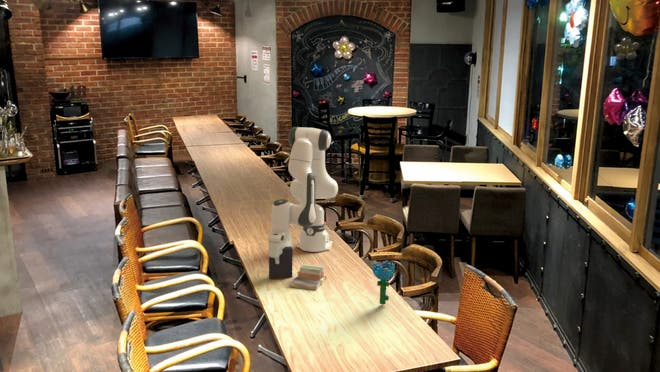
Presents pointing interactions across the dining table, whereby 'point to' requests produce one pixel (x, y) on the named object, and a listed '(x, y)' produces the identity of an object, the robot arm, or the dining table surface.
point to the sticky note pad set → (309, 277)
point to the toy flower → (383, 278)
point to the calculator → (281, 265)
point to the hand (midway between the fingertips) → (280, 261)
